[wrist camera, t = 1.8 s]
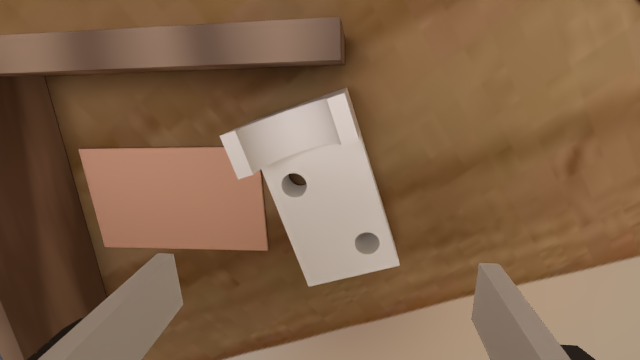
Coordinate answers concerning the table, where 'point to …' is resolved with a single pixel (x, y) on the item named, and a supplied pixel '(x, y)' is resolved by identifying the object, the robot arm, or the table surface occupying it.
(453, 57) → the table surface
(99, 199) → the pad
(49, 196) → the corner walls
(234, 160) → the bracket
